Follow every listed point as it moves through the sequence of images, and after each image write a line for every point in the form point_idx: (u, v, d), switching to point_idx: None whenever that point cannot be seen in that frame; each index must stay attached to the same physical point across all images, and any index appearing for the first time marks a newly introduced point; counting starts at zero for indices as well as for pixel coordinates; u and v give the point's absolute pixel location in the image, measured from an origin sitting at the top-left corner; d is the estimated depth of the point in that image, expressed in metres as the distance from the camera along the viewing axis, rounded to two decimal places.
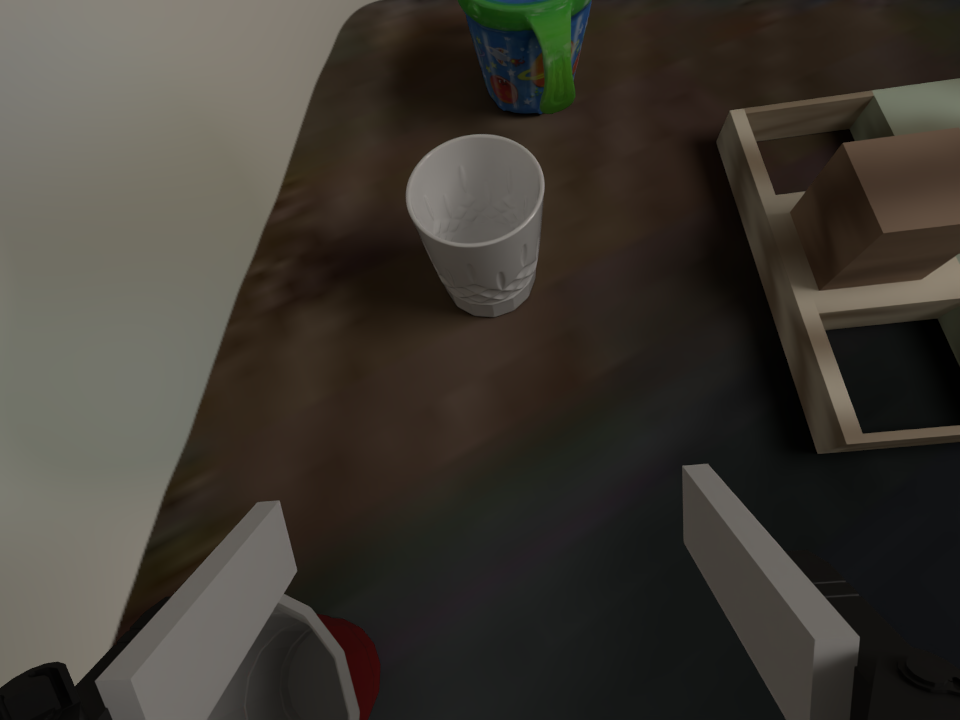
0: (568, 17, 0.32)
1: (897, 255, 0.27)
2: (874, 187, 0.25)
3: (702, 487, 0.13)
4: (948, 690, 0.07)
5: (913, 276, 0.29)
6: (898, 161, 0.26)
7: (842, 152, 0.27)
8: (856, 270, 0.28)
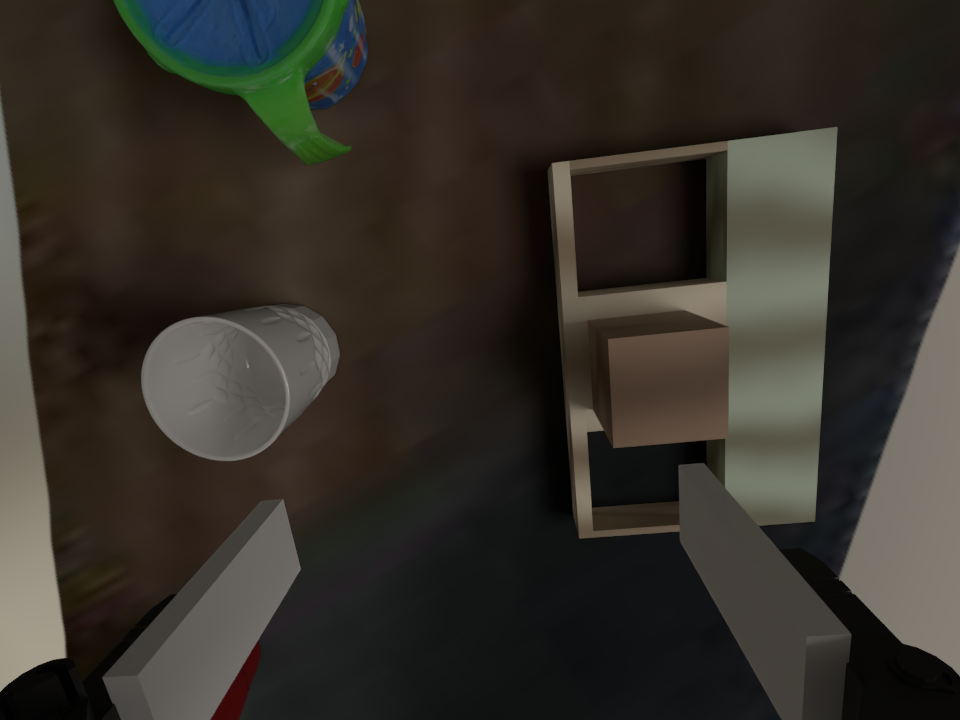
0: (300, 93, 0.22)
1: None
2: (621, 397, 0.25)
3: (698, 486, 0.14)
4: (939, 687, 0.08)
5: None
6: (654, 367, 0.25)
7: (607, 346, 0.25)
8: None
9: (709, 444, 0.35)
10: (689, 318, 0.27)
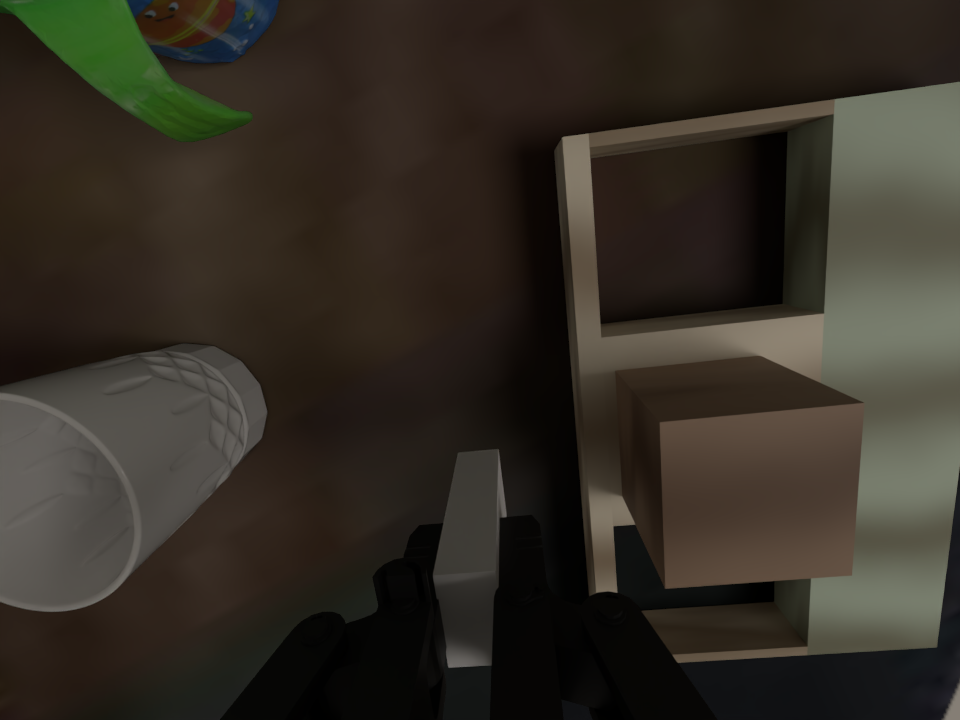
0: (117, 5, 0.12)
1: None
2: (680, 513, 0.16)
3: (478, 467, 0.16)
4: (533, 599, 0.10)
5: None
6: (736, 467, 0.15)
7: (657, 431, 0.15)
8: None
9: None
10: (778, 375, 0.17)
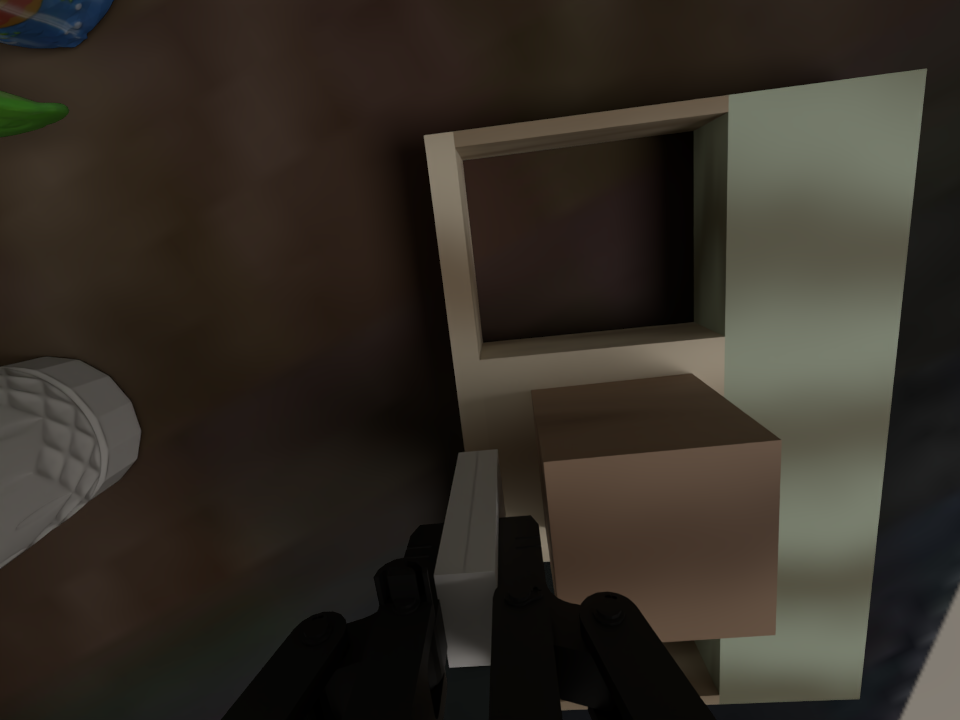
0: None
1: None
2: (574, 565, 0.13)
3: (477, 467, 0.16)
4: (532, 599, 0.10)
5: None
6: (636, 513, 0.13)
7: (544, 472, 0.13)
8: None
9: None
10: (700, 400, 0.15)
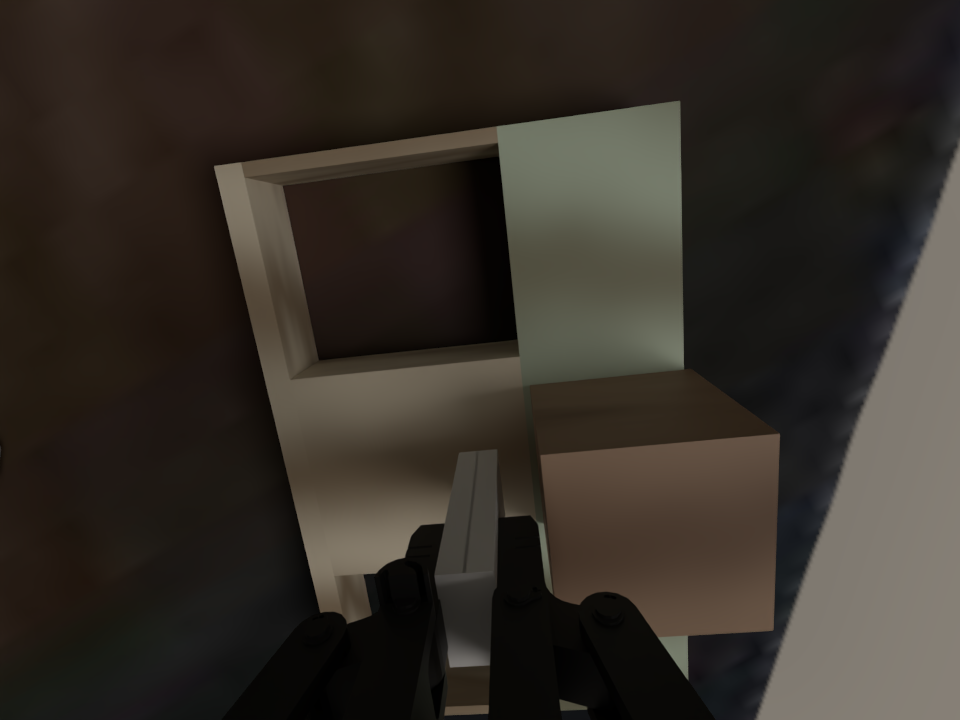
0: None
1: None
2: (570, 559, 0.13)
3: (477, 467, 0.16)
4: (531, 598, 0.10)
5: None
6: (633, 507, 0.13)
7: (541, 465, 0.13)
8: None
9: None
10: (699, 395, 0.15)
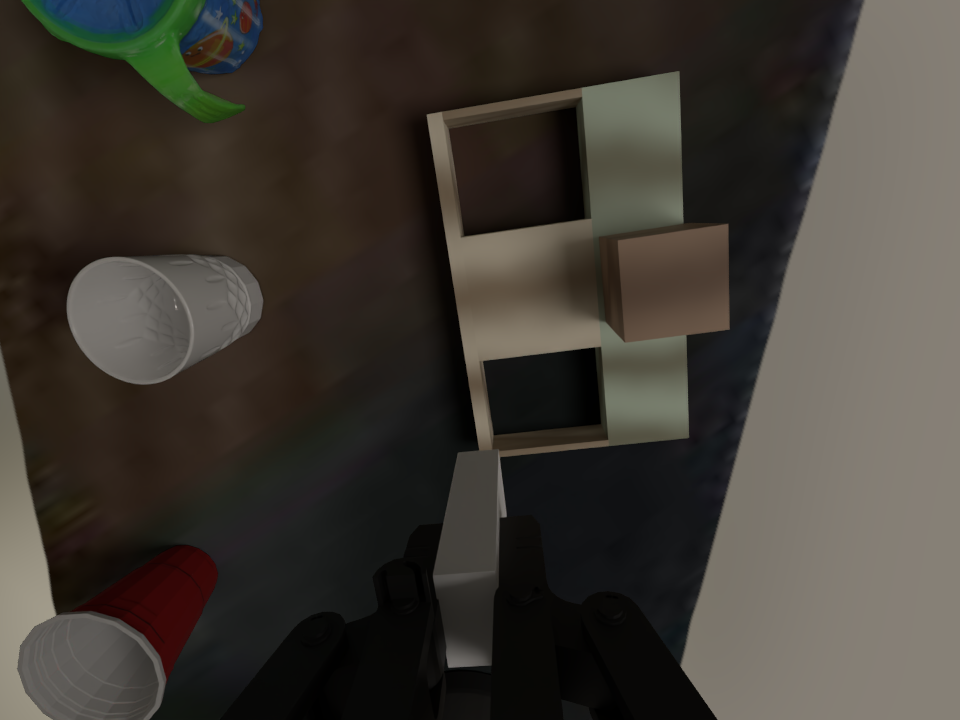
0: (176, 55, 0.25)
1: None
2: (631, 295, 0.28)
3: (478, 467, 0.16)
4: (533, 598, 0.10)
5: None
6: (660, 265, 0.27)
7: (617, 248, 0.27)
8: None
9: (598, 373, 0.38)
10: (692, 225, 0.30)
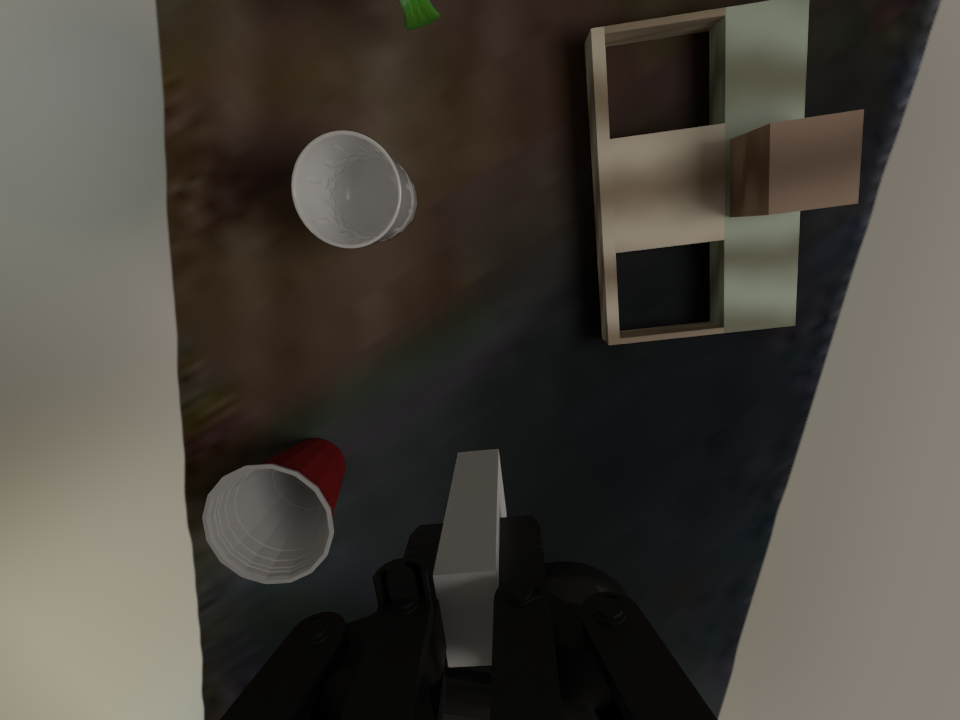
0: None
1: None
2: (777, 172, 0.33)
3: (478, 467, 0.16)
4: (533, 599, 0.10)
5: None
6: (804, 145, 0.33)
7: (768, 130, 0.33)
8: None
9: (711, 272, 0.43)
10: None
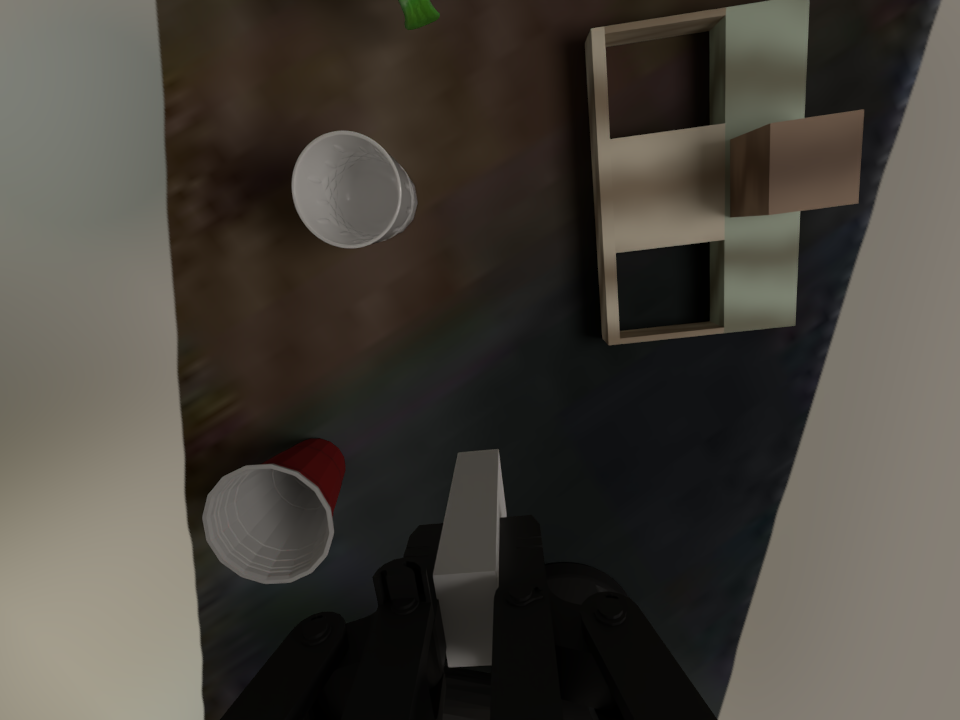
0: None
1: None
2: (777, 172, 0.33)
3: (478, 467, 0.16)
4: (533, 599, 0.10)
5: None
6: (805, 145, 0.33)
7: (768, 130, 0.33)
8: None
9: (711, 272, 0.43)
10: None
